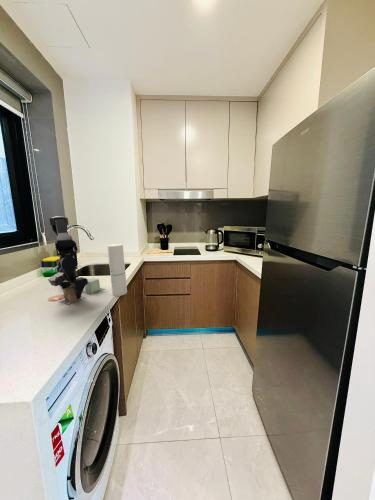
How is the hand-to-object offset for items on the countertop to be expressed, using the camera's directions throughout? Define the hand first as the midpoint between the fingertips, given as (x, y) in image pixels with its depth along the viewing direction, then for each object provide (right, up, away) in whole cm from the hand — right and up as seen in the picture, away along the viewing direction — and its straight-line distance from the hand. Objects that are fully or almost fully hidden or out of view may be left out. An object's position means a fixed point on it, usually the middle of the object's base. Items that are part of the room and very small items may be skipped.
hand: (72, 297), depth 96 cm
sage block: (+4, +1, +11) cm, 12 cm away
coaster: (-10, -1, +4) cm, 10 cm away
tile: (0, -2, 0) cm, 2 cm away
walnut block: (0, -1, 0) cm, 1 cm away
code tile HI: (+4, +1, +11) cm, 12 cm away
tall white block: (+20, 0, +7) cm, 21 cm away
